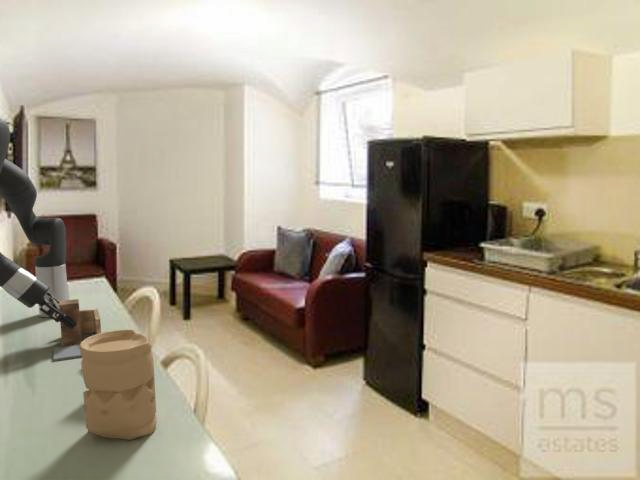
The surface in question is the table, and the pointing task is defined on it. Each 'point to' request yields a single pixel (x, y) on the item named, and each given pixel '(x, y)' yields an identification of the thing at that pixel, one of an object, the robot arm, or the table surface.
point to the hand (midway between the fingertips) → (74, 322)
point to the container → (119, 384)
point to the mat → (67, 353)
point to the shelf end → (90, 321)
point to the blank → (73, 312)
